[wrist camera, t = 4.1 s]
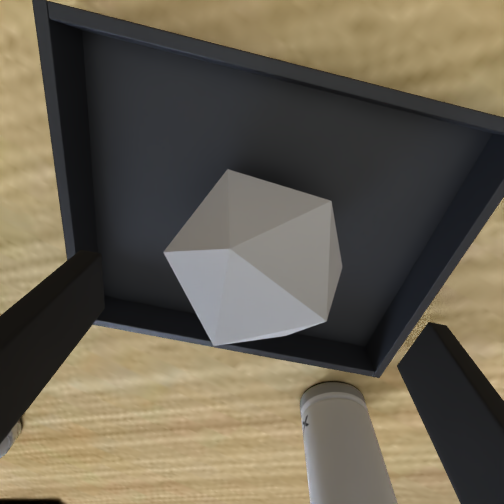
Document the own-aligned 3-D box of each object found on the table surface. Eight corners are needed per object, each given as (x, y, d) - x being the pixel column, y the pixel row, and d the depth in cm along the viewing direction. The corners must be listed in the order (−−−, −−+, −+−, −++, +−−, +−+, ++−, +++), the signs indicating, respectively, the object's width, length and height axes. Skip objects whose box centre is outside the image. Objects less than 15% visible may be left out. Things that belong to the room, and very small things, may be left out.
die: (219, 289, 22) (305, 395, 16) (116, 244, 16) (190, 396, 9) (286, 204, 22) (406, 276, 15) (210, 119, 15) (365, 182, 8)
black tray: (96, 296, 23) (75, 321, 20) (73, 13, 14) (31, -4, 11) (367, 348, 24) (379, 378, 22) (504, 123, 15) (550, 129, 13)
